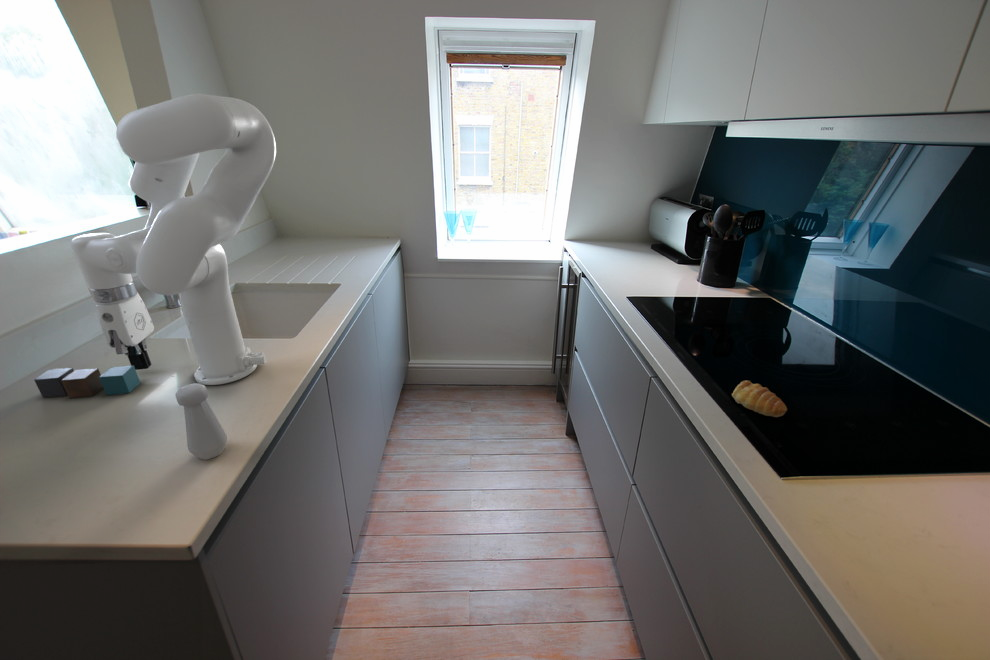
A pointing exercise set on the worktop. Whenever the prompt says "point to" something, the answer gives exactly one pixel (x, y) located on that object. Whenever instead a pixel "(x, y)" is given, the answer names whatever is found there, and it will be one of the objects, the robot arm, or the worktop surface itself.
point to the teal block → (119, 380)
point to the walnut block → (82, 383)
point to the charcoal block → (52, 382)
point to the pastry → (759, 399)
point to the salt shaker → (201, 423)
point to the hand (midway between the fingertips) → (142, 367)
